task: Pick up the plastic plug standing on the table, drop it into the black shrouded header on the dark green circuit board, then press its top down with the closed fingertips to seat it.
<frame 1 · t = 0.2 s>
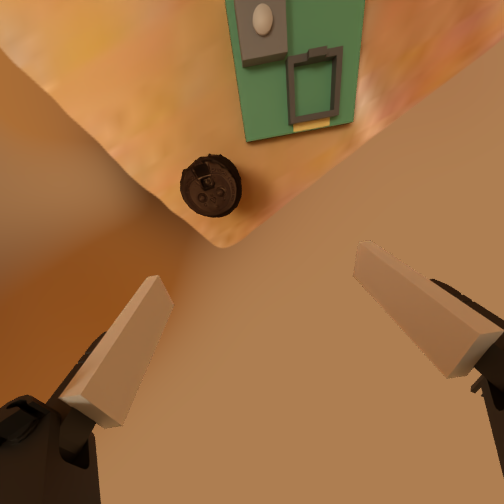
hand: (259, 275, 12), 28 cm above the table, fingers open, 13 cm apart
coffee cup: (220, 177, 35), on the table
board: (294, 71, 28), on the table
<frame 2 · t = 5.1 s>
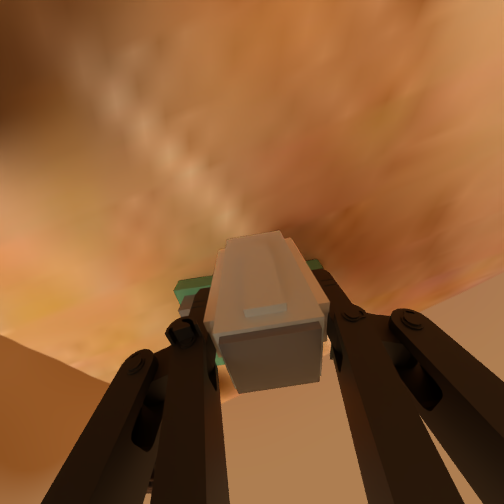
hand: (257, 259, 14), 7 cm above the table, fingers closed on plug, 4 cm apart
plug: (257, 257, 14), point 7 cm above the table, touching gripper
board: (256, 314, 27), on the table
when the fingers open (4 cm above the table, at t = 9.2 s): plug drops 2 cm, resting on board.
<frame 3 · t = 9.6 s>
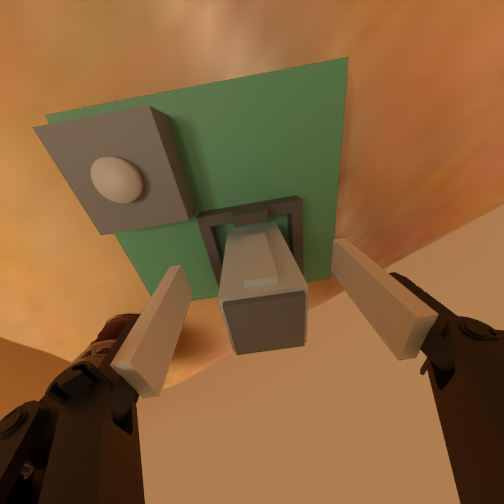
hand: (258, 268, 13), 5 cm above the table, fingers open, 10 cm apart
plug: (254, 247, 16), point 2 cm above the table, touching board
coffee cup: (134, 328, 23), on the table
board: (226, 210, 16), on the table
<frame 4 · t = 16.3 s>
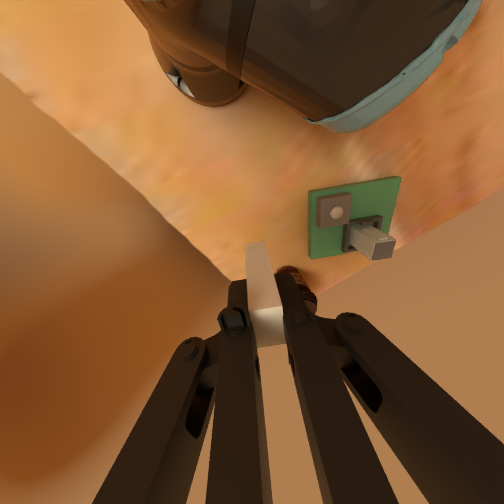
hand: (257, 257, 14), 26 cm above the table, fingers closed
plug: (358, 233, 41), point 2 cm above the table, touching board
coffee cup: (286, 274, 48), on the table
board: (347, 219, 41), on the table
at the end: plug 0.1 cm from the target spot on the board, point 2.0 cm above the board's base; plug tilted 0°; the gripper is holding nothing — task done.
